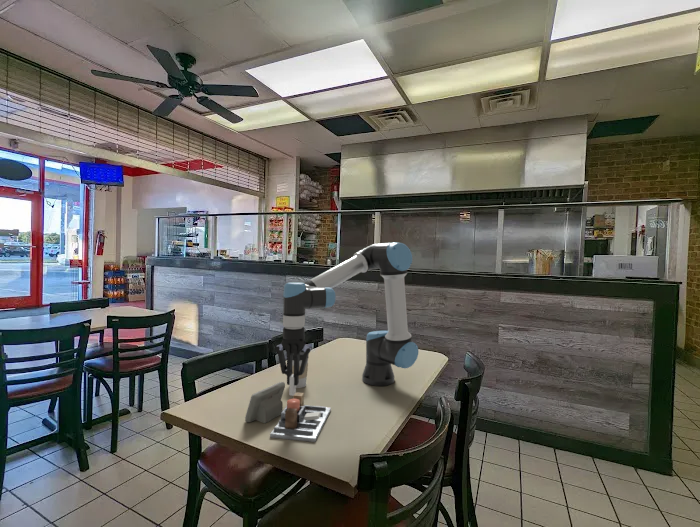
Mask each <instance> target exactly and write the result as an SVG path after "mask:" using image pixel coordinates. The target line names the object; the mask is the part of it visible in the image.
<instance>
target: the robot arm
mask: <svg viewBox="0 0 700 527" xmlns="http://www.w3.org/2000/svg"><path fill="white" fill-rule="evenodd" d="M412 264H413V254H412V251H411V250H410V248H409V247H408V246H407V244H405V243H403V242H395V241H393V242H377V243H376V242H375V243H373V244H370V245H368V246H366V247H364V248H362V249H360V250H358V251H357V252H354V254H353V256H351V258H349V259H346V260H345V261H343V262H340V263H339V264H337V265H335V266H333V267H331V268H329V269H328V270H326V271H324V272H322V273H320V274H319V275H316V276H314V277H313V278H310V279H309V280H307V281H305V282H298V281H297V282H293V281H292V282H291V281H290V282H287V283H284V286H283V295H282V297H283V314H282V317H283V318H282V319H283V320H282V326H283V328H282V340H281V343H280V344H277V345H276V346H275V347H274V350H275V351H276V353H277V357H278V361H279V367H280V370H281V374H282V375H286V385H288V386H289V387H288V388H289V390H288V394H289V396H290V397H293V396H294V394H295V393H296V392H297V388H296V386H297V385H298V383H299V375H302V374H303V373H304V371H305V367H306V363H307V359H308V360H309V358H308V357H309V354H310V353H311V351H312V350H313V348H312V346H309V345H307V344H306V341H305V336H306V335H305V333H306V332H305V330H306V328H305V325H306V310H310V309H311V310H312V309H323V308H324V309H327V308H331V307H333V306H334V305H335V303H336V292H335V290H334V288H335V287H338V286H339V285H341V284H342V283H344V282H345V281H348V280H350V279H351V278H352V277H355V276H357V275H359V274H360V273H366V272H368V271H371V270H379V275H380V277H382V278H383V282H384V296H385V309H386V322H387V330H375V331H373V330H372V331H370V332H367V334H366V339H365V340H366V341H365V343H366V344H365V347H366V348H365V350H366V351H365V352H366V353H365V356H366V357H365V359H366V360H365V366H364V369H363V372H362V375H361V376H362V378H361V380H362V382H363V383H365V384H367V385H369V386H374V387H375V386H376V387H385V386H390V385H393V383H395V373H394V370H393V367H392V365H393V366H395V367H397V368H400V369H408V368H411V367H412V366H414V364H415V362H416V361H417V359H418V356H419V347H418V345H417V343H415V342H414V341H413V336H412V333H411V332H409V331H408V330H409V328H408V327H409V326H408V316H407V313H408V311H407V299H406V297H407V296H406V284H405V277H406V276H407V274H408V270H409V269H410V267H411V266H412ZM301 350H303V351H304V352H305V353H304V355H303V359H302V363H301V367H300V371H299V360H300V352H301ZM284 351H285V352H286V357H285V352H284ZM293 354H294V374H292V373H293V372H292V359H293Z"/></svg>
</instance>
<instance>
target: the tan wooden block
mask: <svg viewBox="0 0 700 527" xmlns="http://www.w3.org/2000/svg"><path fill="white" fill-rule="evenodd" d="M292 397H293V398H292V399H299V400H300V406H304V405H305V392H297V391H296V393H295V394H294V396H292Z"/></svg>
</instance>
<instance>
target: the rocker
mask: <svg viewBox="0 0 700 527" xmlns="http://www.w3.org/2000/svg"><path fill="white" fill-rule="evenodd" d="M320 416H321V413H320V412H314V413H307V414H306V415H305V417H304V419H305V420H317V419H319V418H320Z"/></svg>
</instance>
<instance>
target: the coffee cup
mask: <svg viewBox="0 0 700 527" xmlns="http://www.w3.org/2000/svg"><path fill="white" fill-rule="evenodd" d="M304 353H305V352H304V349H302V350H301V352H300V360H299V371H300V367H301V363H302V359H303V355H304ZM308 367H309V356H308V359H307V363H306V367H305V371H304V373H303V374H302V375H299V383H298V385H297V386H296V389H302V388H305V387H306V386H307V378H308V370H309V368H308ZM292 372H293V373H292V374H294V354H293V359H292Z"/></svg>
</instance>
